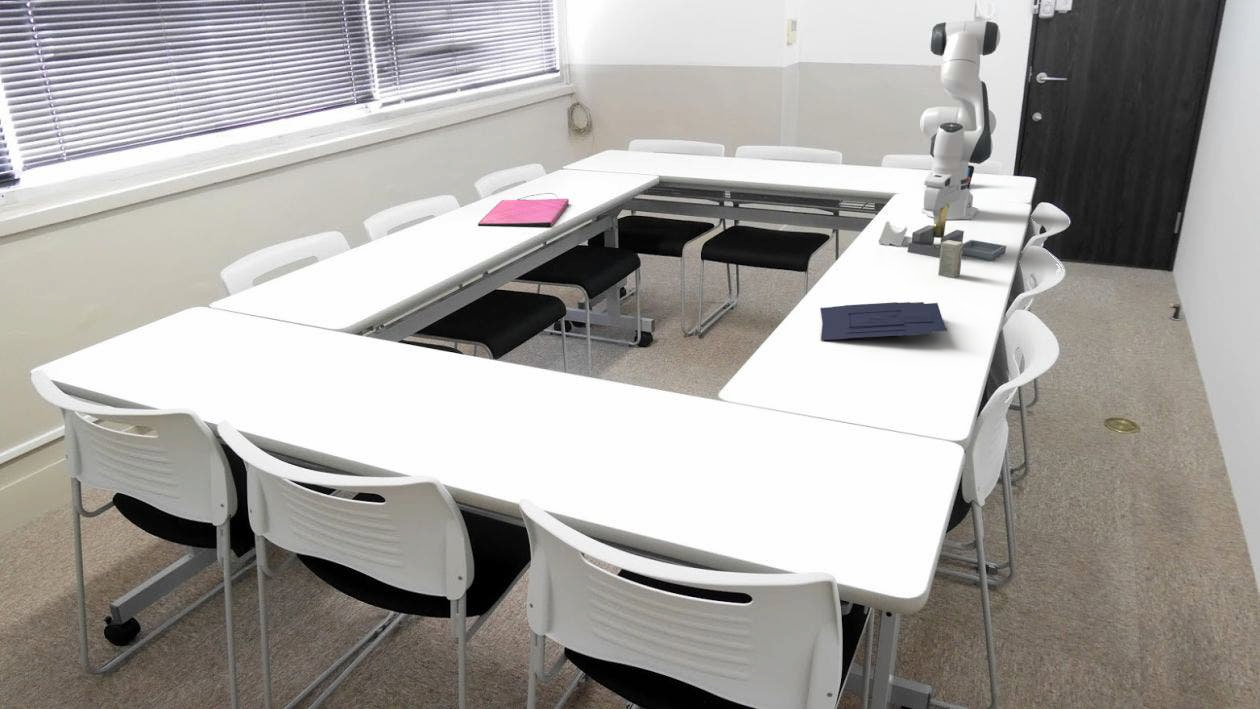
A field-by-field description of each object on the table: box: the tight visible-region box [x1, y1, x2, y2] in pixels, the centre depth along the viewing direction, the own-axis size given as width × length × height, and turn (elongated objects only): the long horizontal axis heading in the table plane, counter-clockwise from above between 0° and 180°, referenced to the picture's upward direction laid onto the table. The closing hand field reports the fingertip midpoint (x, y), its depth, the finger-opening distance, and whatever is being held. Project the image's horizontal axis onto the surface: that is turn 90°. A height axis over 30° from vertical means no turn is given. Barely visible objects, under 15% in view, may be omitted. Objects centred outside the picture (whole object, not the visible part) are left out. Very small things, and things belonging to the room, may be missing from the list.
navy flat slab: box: [820, 301, 948, 341], centre depth 234 cm, size 24×30×4 cm
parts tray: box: [962, 239, 1007, 262], centre depth 293 cm, size 12×12×2 cm
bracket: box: [878, 219, 909, 247], centre depth 308 cm, size 13×7×8 cm, turn 160°
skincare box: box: [937, 240, 964, 278], centre depth 272 cm, size 5×4×10 cm
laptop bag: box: [477, 192, 570, 228], centre depth 349 cm, size 40×4×27 cm
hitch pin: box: [932, 204, 948, 239], centre depth 295 cm, size 4×4×12 cm
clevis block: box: [907, 224, 965, 259], centre depth 296 cm, size 14×12×6 cm
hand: (940, 219), depth 295 cm, fingers closed on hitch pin, 4 cm apart
